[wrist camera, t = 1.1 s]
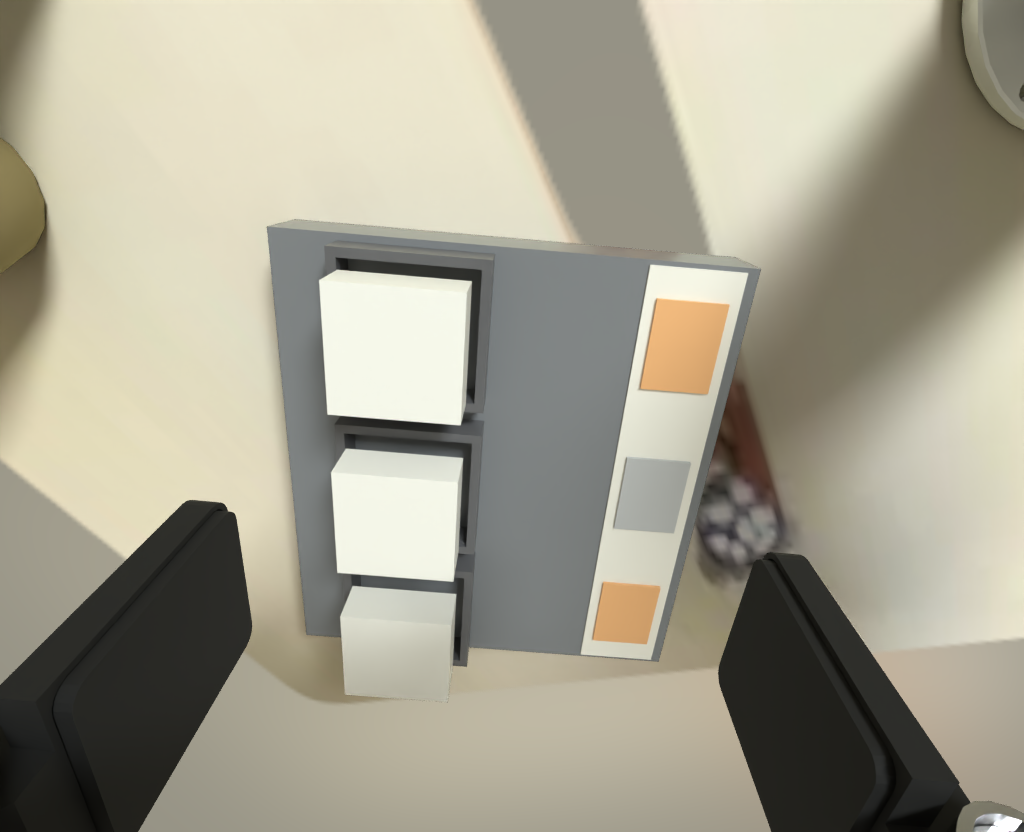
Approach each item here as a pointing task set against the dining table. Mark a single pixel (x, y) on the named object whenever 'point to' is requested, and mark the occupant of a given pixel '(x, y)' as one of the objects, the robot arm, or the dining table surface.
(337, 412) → the switch
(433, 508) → the switch
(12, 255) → the squeeze bottle
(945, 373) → the dining table surface
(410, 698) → the switch
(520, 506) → the switch box
